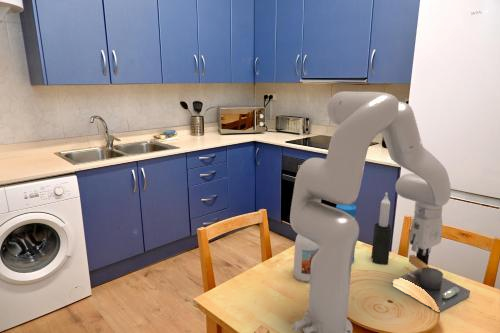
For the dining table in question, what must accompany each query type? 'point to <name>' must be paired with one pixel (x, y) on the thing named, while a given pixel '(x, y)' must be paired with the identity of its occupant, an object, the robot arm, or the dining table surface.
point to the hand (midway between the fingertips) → (421, 264)
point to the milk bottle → (304, 257)
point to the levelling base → (441, 291)
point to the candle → (382, 235)
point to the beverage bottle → (350, 210)
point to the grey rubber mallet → (427, 274)
